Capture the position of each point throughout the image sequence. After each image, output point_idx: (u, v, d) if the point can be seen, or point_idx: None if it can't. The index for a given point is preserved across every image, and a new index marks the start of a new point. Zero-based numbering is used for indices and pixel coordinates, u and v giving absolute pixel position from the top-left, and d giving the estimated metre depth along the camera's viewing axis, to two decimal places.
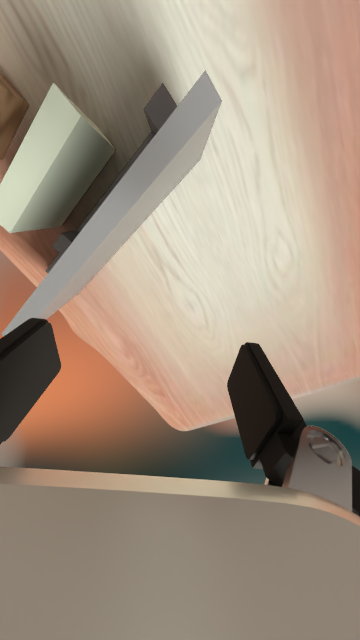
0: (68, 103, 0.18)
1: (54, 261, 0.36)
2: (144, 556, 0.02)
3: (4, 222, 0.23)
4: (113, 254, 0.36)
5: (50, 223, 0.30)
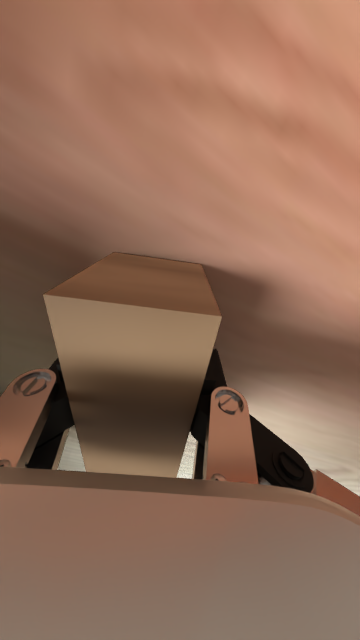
0: None
1: None
2: (144, 556, 0.02)
3: None
4: None
5: None
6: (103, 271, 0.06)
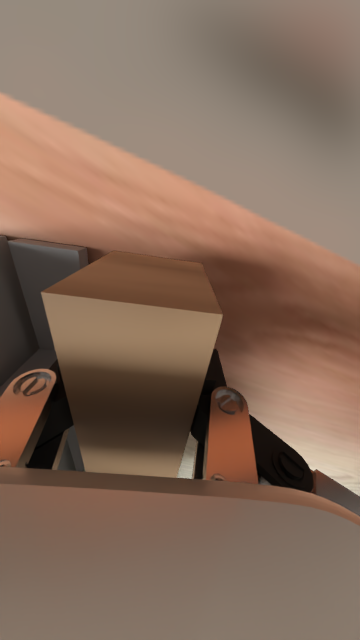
0: None
1: None
2: (144, 556, 0.02)
3: None
4: None
5: None
6: (102, 269, 0.06)
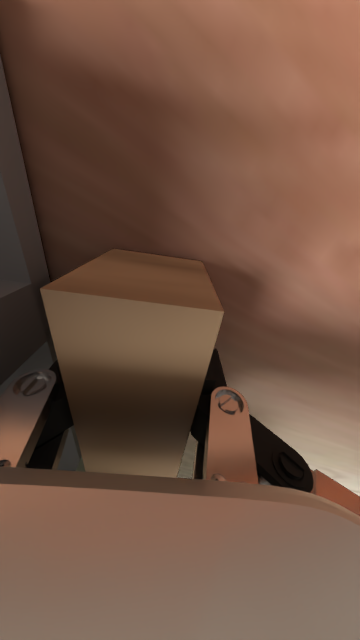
0: None
1: None
2: (144, 556, 0.02)
3: None
4: None
5: None
6: (102, 266, 0.06)
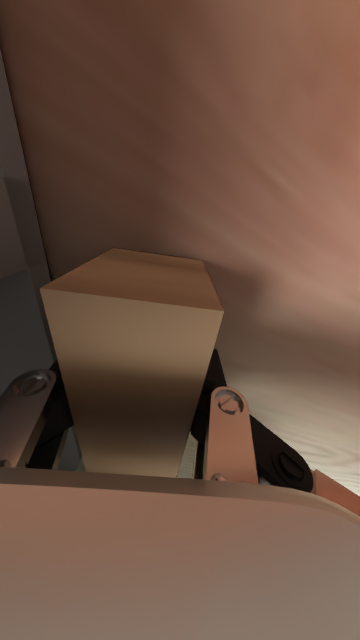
0: None
1: None
2: (144, 556, 0.02)
3: None
4: None
5: None
6: (102, 266, 0.06)
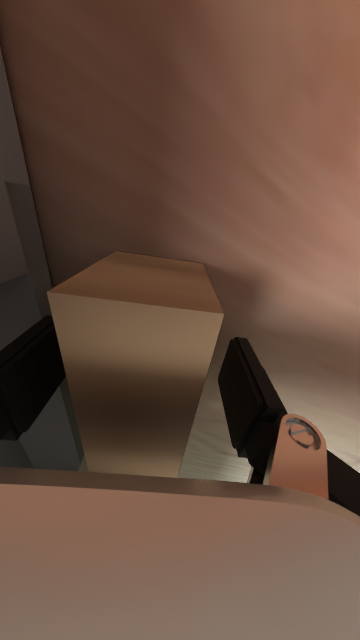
0: None
1: None
2: (144, 556, 0.02)
3: None
4: None
5: None
6: (105, 269, 0.06)
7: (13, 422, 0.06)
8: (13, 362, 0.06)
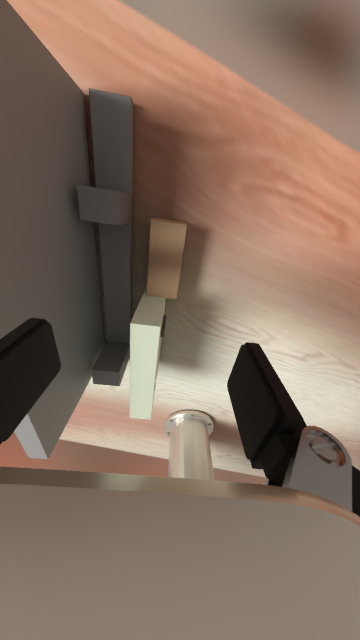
0: (138, 417, 0.27)
1: (128, 138, 0.20)
2: (144, 556, 0.02)
3: (140, 330, 0.19)
4: None
5: None
6: (157, 219, 0.22)
7: None
8: None
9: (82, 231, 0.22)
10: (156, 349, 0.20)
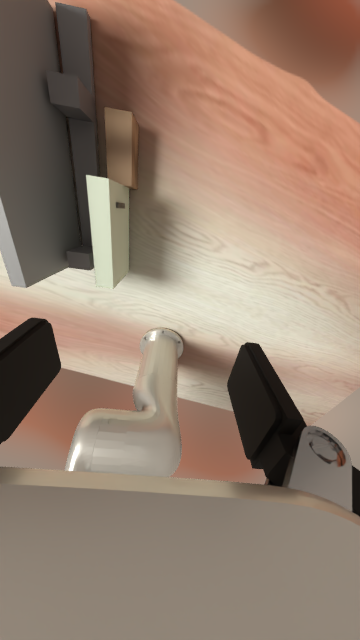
0: (103, 286, 0.33)
1: (87, 44, 0.27)
2: (144, 556, 0.02)
3: (94, 182, 0.26)
4: None
5: None
6: None
7: None
8: None
9: (55, 123, 0.29)
10: (108, 203, 0.27)
